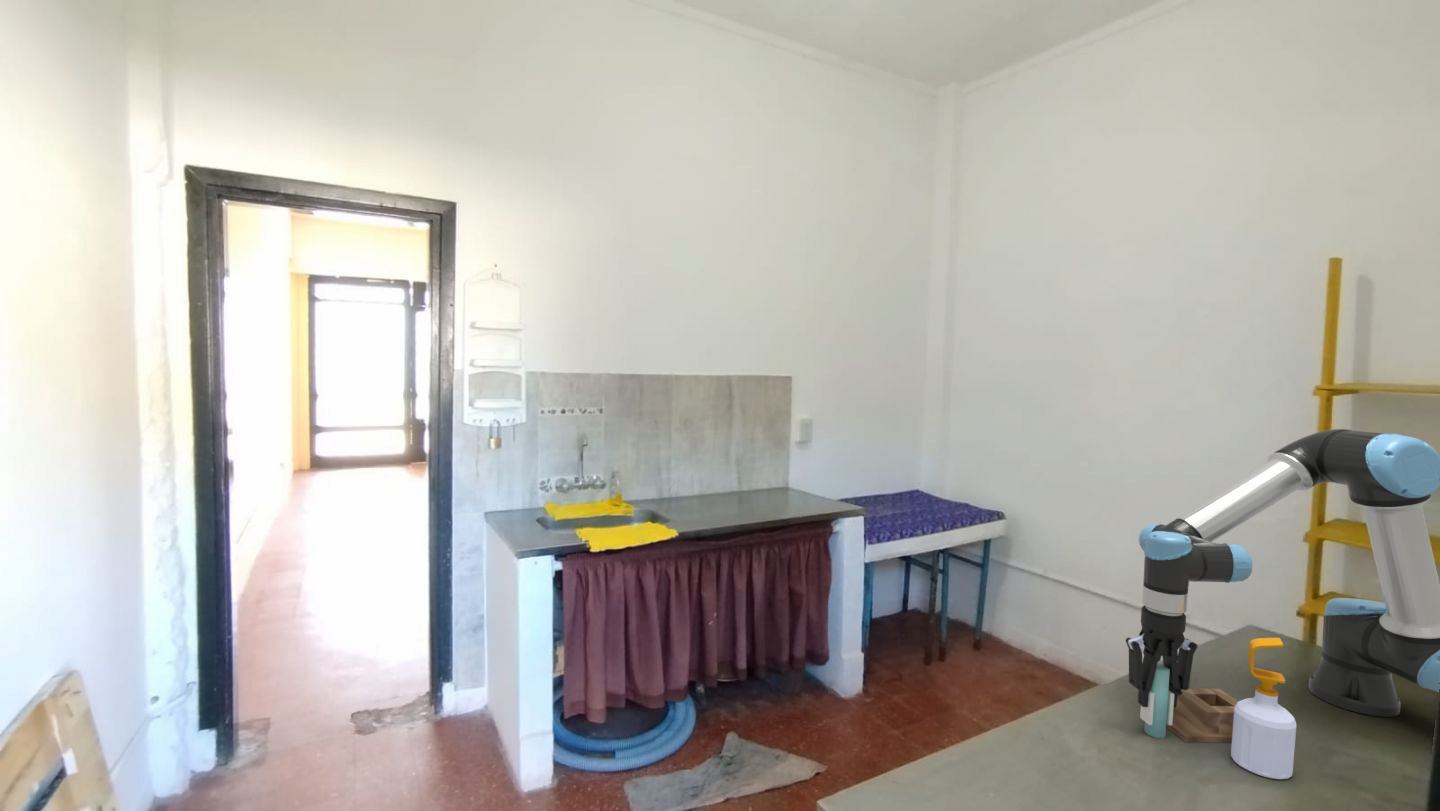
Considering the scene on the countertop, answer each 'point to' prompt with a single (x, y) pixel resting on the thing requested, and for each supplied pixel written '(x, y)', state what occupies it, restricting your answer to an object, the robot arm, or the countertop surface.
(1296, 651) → the countertop surface
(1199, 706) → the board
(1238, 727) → the soap bottle
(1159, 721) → the peg
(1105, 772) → the countertop surface
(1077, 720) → the countertop surface
